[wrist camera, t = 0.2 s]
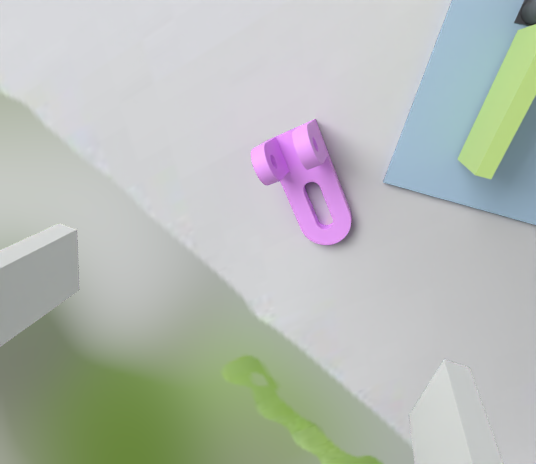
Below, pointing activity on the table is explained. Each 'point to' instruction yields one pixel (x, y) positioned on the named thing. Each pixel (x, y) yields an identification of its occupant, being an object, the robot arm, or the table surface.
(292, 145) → the bracket
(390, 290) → the table surface
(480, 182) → the board
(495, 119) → the fence panel
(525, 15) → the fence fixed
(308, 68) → the table surface
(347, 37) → the table surface
